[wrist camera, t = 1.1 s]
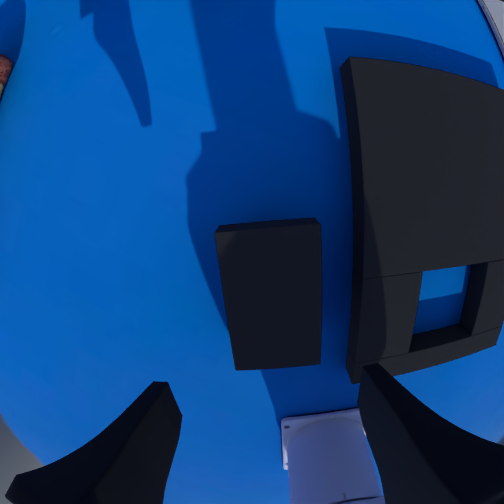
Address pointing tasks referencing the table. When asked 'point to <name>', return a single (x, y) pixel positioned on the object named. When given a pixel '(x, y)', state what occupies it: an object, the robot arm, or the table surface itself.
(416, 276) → the base pad
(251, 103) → the table surface
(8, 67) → the snack package
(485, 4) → the smartphone
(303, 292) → the pad
